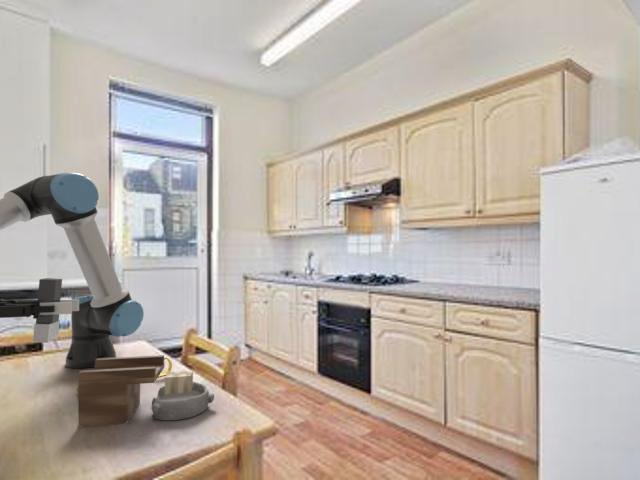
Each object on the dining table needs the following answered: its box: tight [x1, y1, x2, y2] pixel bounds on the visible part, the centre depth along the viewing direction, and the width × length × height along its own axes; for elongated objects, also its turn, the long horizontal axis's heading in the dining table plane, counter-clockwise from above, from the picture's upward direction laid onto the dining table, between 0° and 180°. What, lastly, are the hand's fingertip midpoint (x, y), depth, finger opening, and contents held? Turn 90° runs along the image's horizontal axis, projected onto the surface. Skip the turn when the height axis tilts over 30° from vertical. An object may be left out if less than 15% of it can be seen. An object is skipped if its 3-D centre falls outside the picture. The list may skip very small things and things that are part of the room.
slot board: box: [77, 354, 165, 428], centre depth 99 cm, size 12×16×12 cm
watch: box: [158, 355, 173, 378], centre depth 128 cm, size 6×3×6 cm, turn 136°
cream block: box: [164, 371, 181, 394], centre depth 101 cm, size 4×4×3 cm
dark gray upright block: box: [32, 277, 63, 343], centre depth 97 cm, size 6×3×14 cm, turn 10°
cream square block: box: [178, 370, 194, 393], centre depth 102 cm, size 4×4×3 cm
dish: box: [151, 381, 215, 421], centre depth 102 cm, size 14×14×5 cm
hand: (74, 306), depth 98 cm, fingers closed on dark gray upright block, 3 cm apart
